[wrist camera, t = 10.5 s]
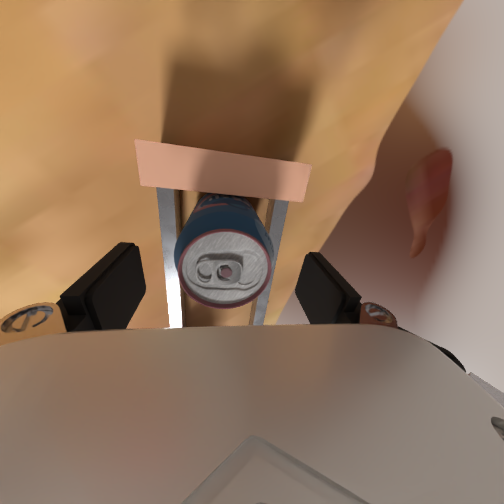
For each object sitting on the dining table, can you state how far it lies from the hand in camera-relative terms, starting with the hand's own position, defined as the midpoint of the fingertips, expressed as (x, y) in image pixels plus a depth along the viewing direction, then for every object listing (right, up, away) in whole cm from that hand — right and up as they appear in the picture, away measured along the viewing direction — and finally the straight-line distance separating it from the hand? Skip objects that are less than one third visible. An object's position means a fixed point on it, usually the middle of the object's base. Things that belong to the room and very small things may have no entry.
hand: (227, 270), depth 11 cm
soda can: (-2, +5, +11) cm, 13 cm away
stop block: (-1, +10, +9) cm, 13 cm away
